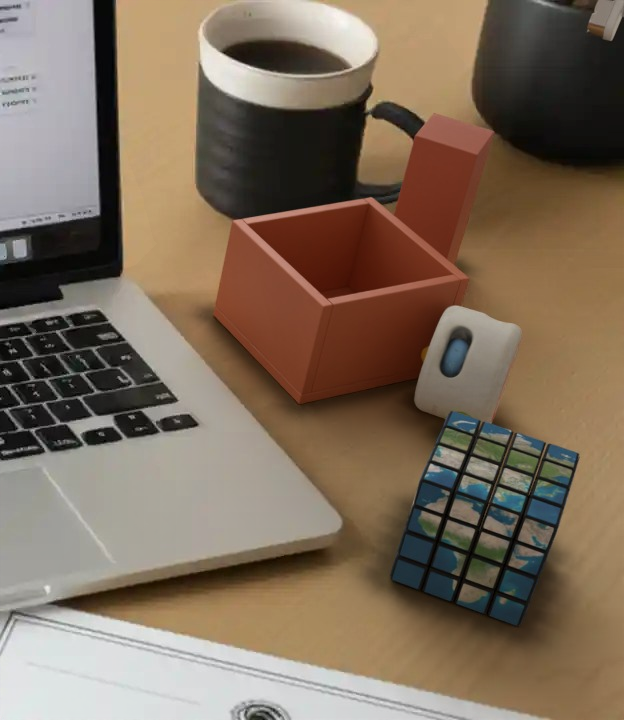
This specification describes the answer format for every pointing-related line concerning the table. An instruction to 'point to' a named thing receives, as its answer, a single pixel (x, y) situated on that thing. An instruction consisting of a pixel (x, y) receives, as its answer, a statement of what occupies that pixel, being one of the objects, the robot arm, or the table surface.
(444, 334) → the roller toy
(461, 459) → the puzzle
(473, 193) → the terracotta block
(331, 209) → the terracotta bin
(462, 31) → the table surface
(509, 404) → the table surface
